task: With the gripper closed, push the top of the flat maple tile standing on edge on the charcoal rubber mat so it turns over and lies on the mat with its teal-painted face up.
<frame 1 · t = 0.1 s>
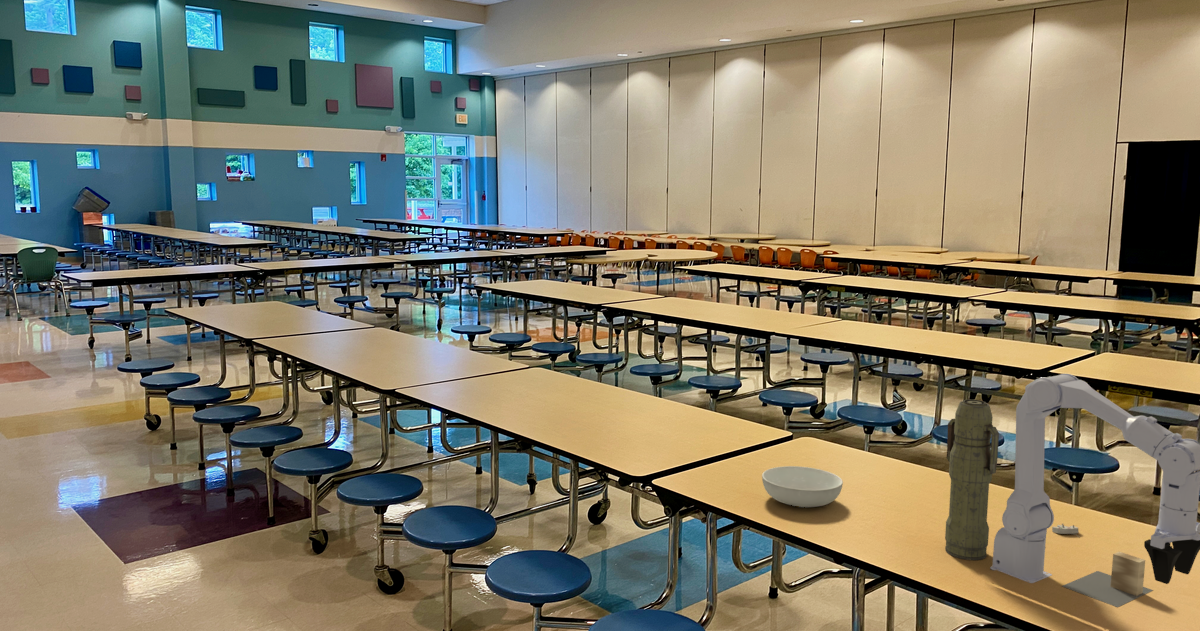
hand: (1172, 577, 156), 10 cm above the table, fingers open, 7 cm apart
serving bowl: (801, 502, 225), on the table
maple tile: (1126, 589, 172), point 1 cm above the table, touching rubber mat
thermos: (965, 553, 192), on the table
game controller: (1072, 539, 201), on the table
rubber mat: (1106, 590, 173), on the table
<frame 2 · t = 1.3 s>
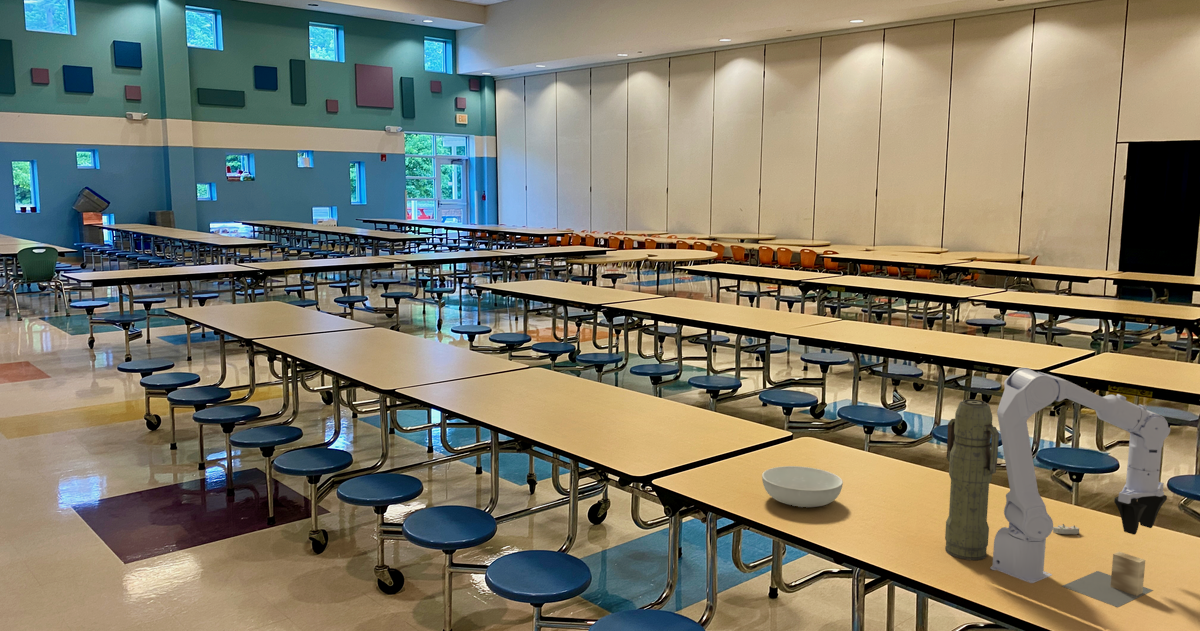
hand: (1138, 529, 178), 10 cm above the table, fingers open, 6 cm apart
nothing on the table moved.
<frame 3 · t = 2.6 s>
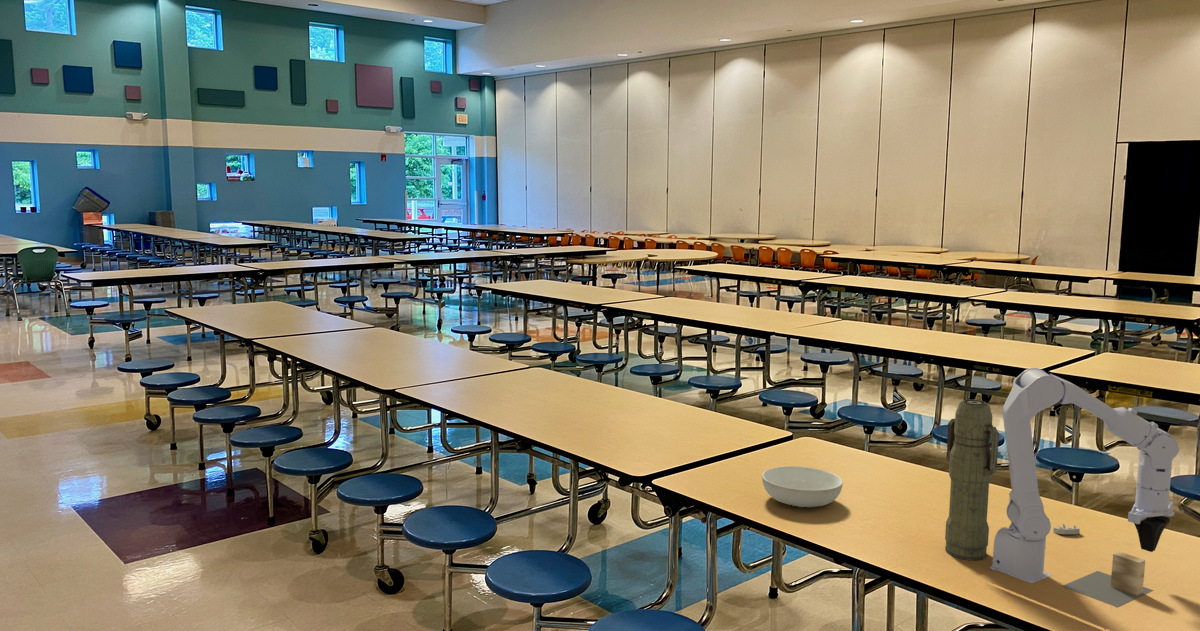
hand: (1147, 549, 175), 7 cm above the table, fingers closed
nothing on the table moved.
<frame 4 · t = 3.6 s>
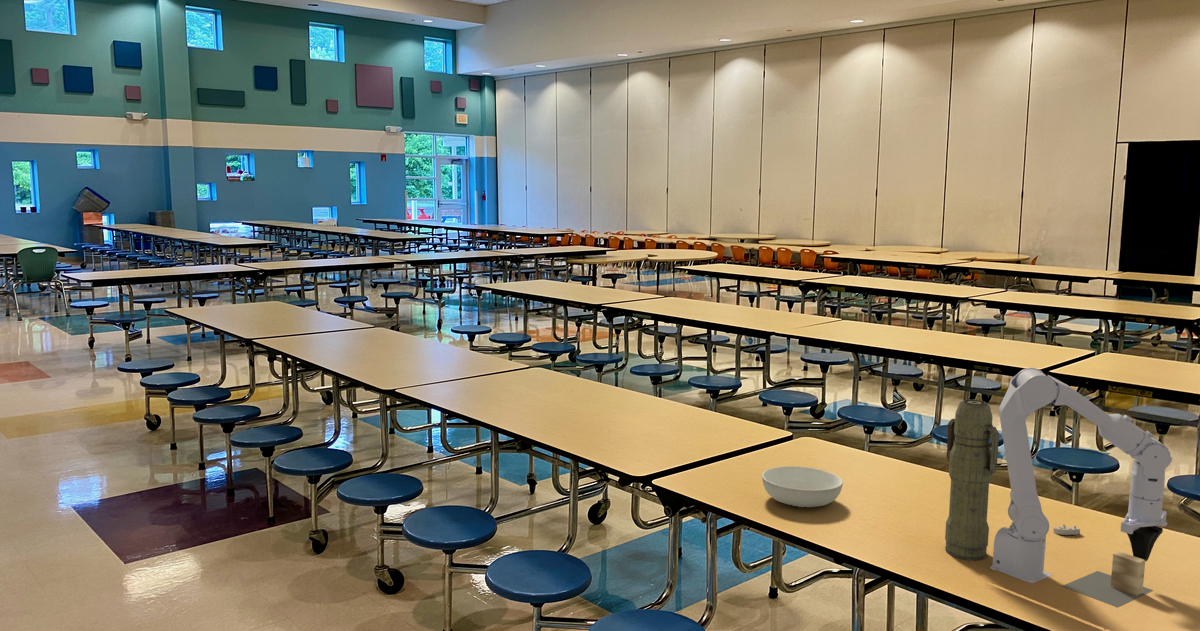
hand: (1140, 559, 174), 6 cm above the table, fingers closed
nothing on the table moved.
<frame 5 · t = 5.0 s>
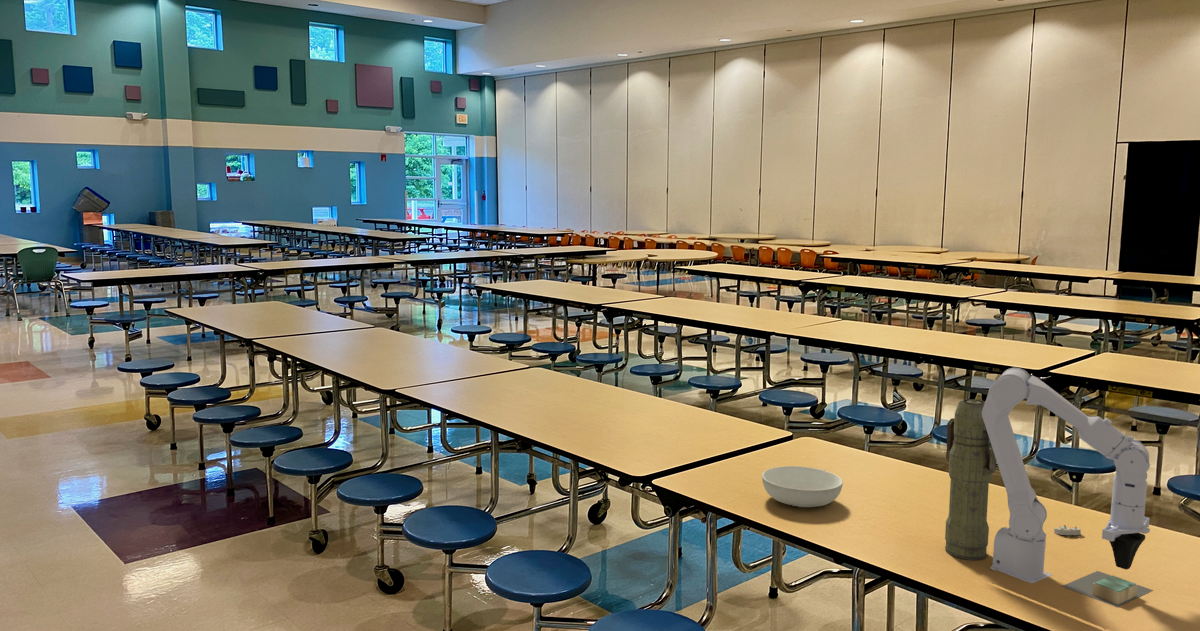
hand: (1122, 567, 170), 6 cm above the table, fingers closed
maple tile: (1123, 585, 171), point 2 cm above the table, tilted 90°, touching rubber mat
everything else where it was.
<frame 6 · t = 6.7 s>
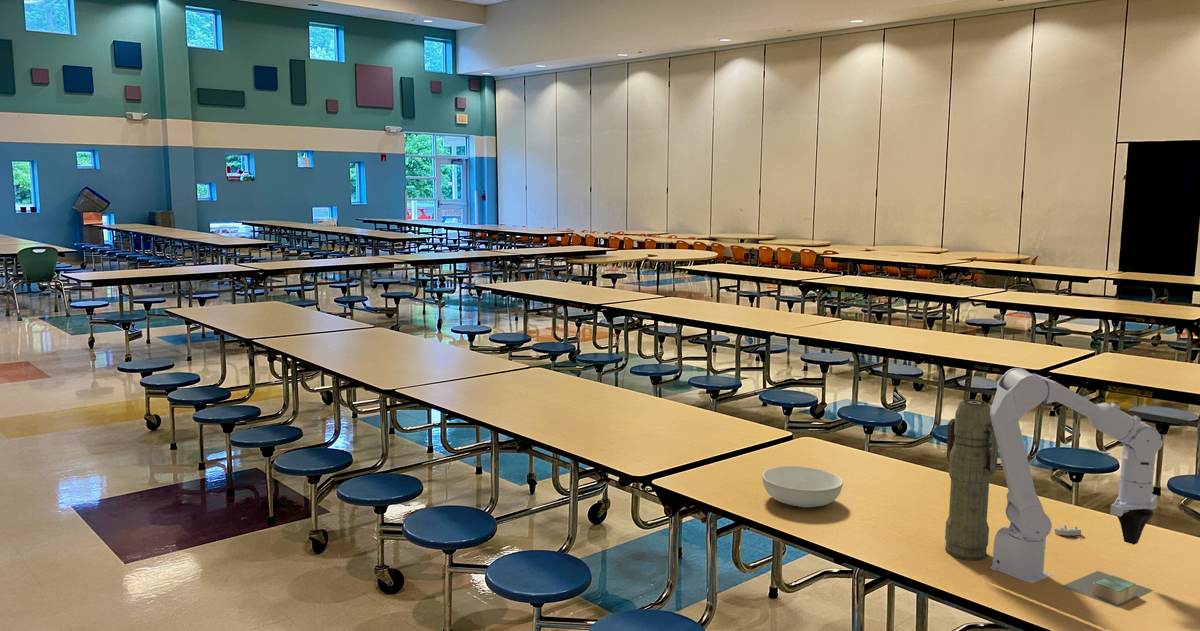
hand: (1130, 542, 176), 8 cm above the table, fingers closed
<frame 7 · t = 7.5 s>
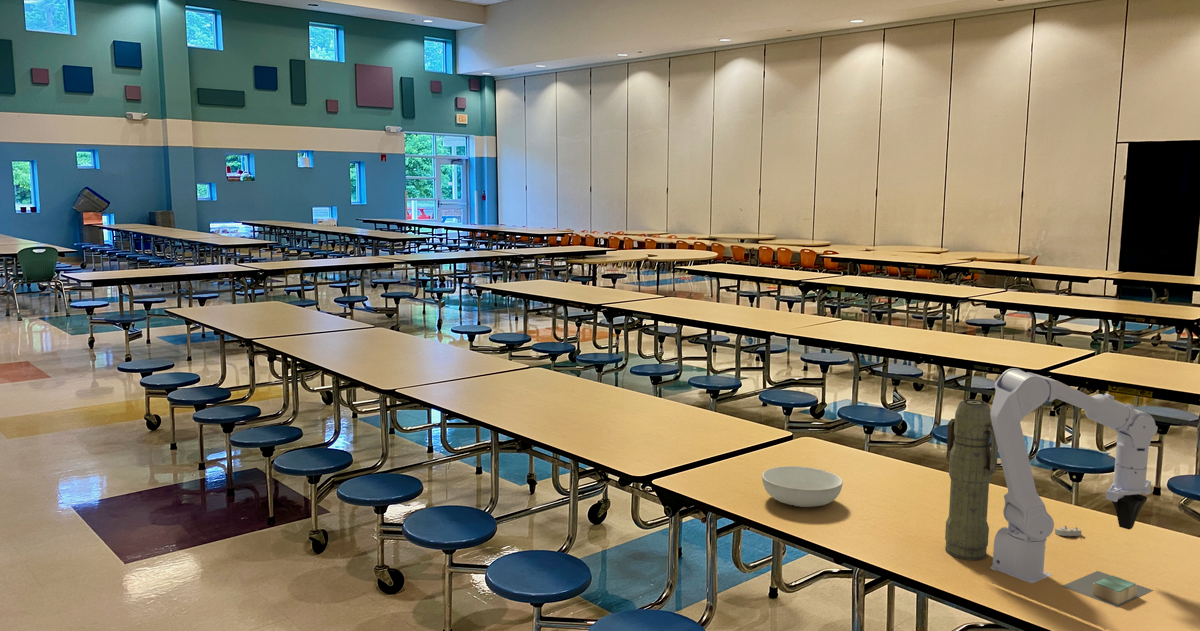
hand: (1125, 527, 179), 10 cm above the table, fingers closed
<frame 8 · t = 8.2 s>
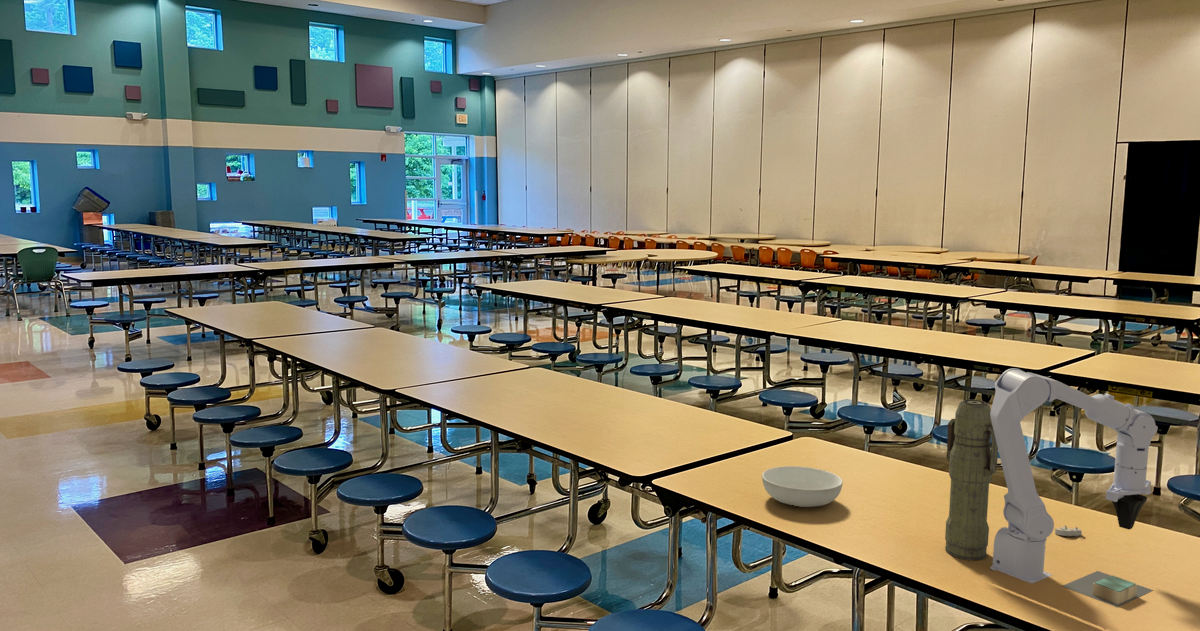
hand: (1125, 527, 179), 10 cm above the table, fingers closed
at the end: maple tile tilted 90°; maple tile inside the target area on the rubber mat (2.8 cm from its centre), point 1.8 cm above the rubber mat's base; maple tile touching rubber mat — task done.
